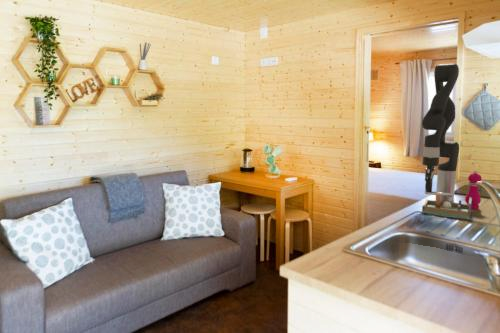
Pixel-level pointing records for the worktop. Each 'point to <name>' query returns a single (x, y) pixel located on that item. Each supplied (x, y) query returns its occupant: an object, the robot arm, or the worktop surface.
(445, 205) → the ball
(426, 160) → the robot arm
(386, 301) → the worktop surface
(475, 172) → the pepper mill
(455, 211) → the tray
